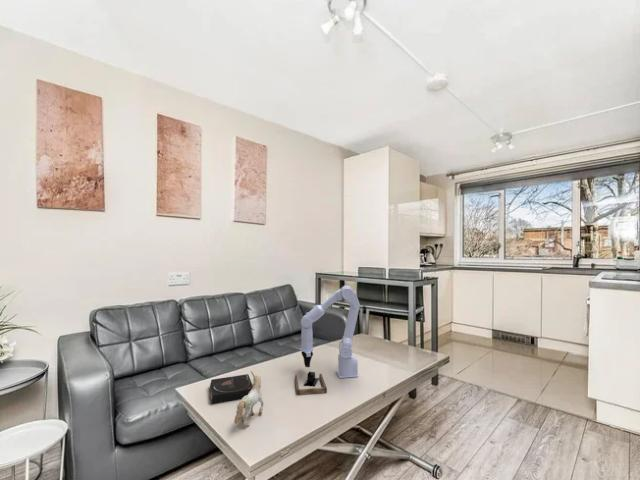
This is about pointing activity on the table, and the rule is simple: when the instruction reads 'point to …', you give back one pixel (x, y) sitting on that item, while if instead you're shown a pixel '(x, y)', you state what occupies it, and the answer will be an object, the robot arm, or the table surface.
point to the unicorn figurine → (250, 402)
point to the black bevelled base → (311, 380)
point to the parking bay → (311, 390)
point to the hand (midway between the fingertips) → (307, 366)
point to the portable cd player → (230, 388)
